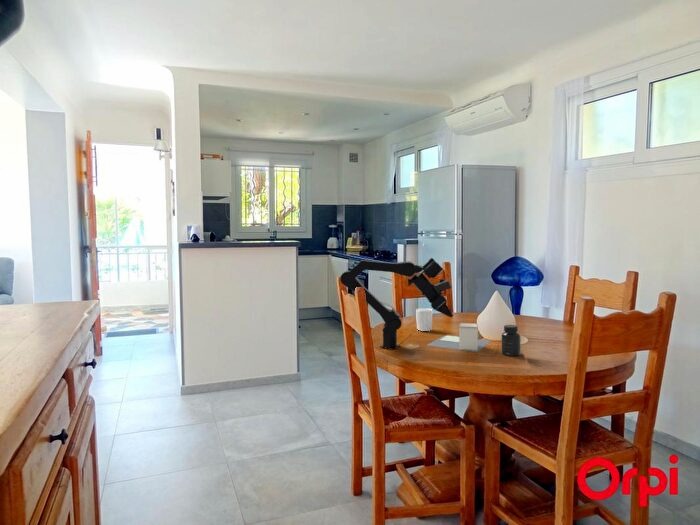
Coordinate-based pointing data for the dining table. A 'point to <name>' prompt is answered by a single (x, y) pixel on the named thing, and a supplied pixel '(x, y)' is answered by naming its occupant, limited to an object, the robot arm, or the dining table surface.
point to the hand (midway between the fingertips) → (451, 314)
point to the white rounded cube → (468, 336)
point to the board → (455, 343)
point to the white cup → (424, 319)
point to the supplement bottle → (511, 341)
